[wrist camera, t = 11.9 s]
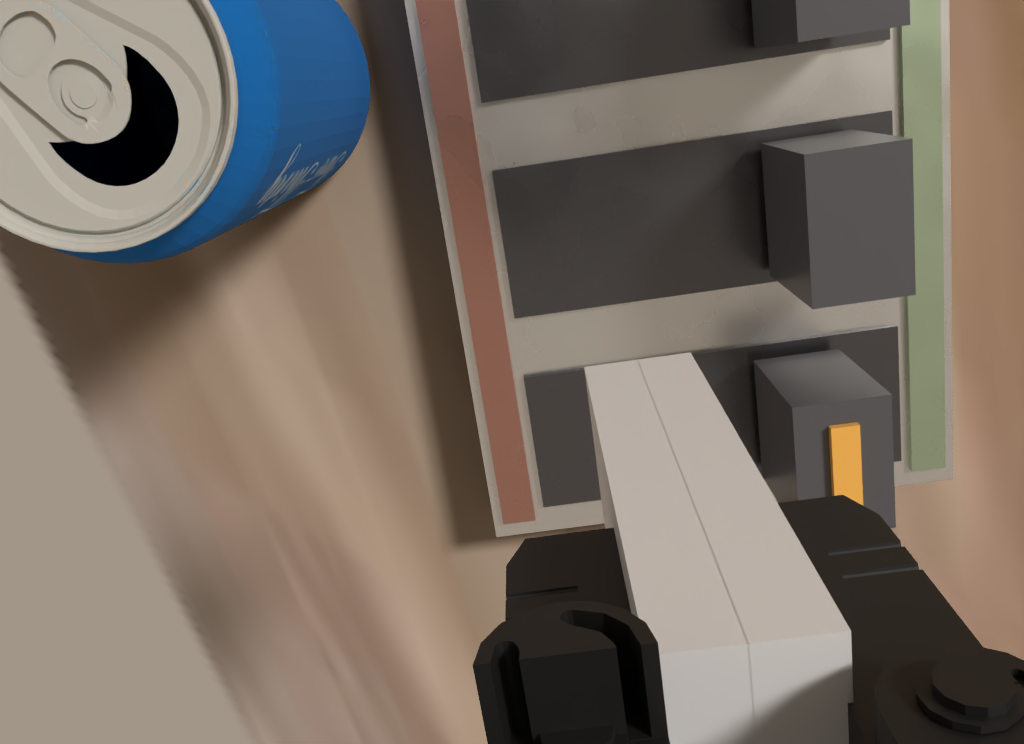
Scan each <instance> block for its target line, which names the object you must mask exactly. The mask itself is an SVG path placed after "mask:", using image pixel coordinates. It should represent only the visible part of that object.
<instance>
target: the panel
mask: <svg viewBox="0 0 1024 744" xmlns="http://www.w3.org/2000/svg"><path fill="white" fill-rule="evenodd" d="M404 1H405V7H406V13H407V19H408V25H409V31H410V36H411V42H412V48H413V54H414V60H415V66H416V71H417V77H418V83H419V89H420V95H421V101H422V106H423V112H424V118H425V124H426V130H427V136H428V141H429V147H430V153H431V159H432V165H433V170H434V176H435V182H436V188H437V194H438V200H439V205H440V211H441V217H442V223H443V229H444V235H445V240H446V246H447V252H448V258H449V264H450V270H451V275H452V281H453V287H454V293H455V299H456V305H457V310H458V316H459V322H460V328H461V334H462V339H463V345H464V351H465V357H466V363H467V369H468V374H469V380H470V386H471V392H472V398H473V404H474V409H475V415H476V421H477V427H478V433H479V439H480V444H481V450H482V456H483V462H484V468H485V473H486V479H487V485H488V491H489V497H490V503H491V508H492V514H493V520H494V526H495V532H496V537H502V536H510V535H518V534H525V533H533V532H541V531H549V530H557V529H564V528H572V527H580V526H588V525H596V524H603V523H604V517H603V509H602V502H601V494H600V486H599V478H598V471H597V463H596V455H595V447H594V440H593V432H592V424H591V416H590V409H589V401H588V393H587V385H586V378H585V370H584V367H587V366H595V365H602V364H609V363H616V362H624V361H631V360H638V359H645V358H653V357H660V356H667V355H674V354H682V353H689V352H691V354H692V356H693V357H694V359H695V361H696V363H697V364H698V366H699V368H700V370H701V371H702V373H703V375H704V377H705V378H706V380H707V382H708V383H709V385H710V387H711V389H712V390H713V392H714V394H715V396H716V397H717V399H718V401H719V403H720V404H721V406H722V408H723V409H724V411H725V413H726V415H727V416H728V418H729V420H730V422H731V423H732V425H733V427H734V429H735V430H736V432H737V434H738V436H739V437H740V439H741V441H742V442H743V444H744V446H745V448H746V449H747V451H748V453H749V455H750V456H751V458H752V460H753V462H754V463H755V465H756V467H757V468H758V470H759V472H760V474H761V475H762V466H761V452H760V439H759V426H758V412H757V399H756V386H755V372H754V360H761V359H769V358H776V357H783V356H790V355H798V354H805V353H812V352H820V351H827V350H834V349H839V350H840V351H842V352H843V353H844V354H845V355H846V356H847V357H849V358H850V359H851V360H852V361H853V362H854V363H856V364H857V365H858V366H859V367H860V368H861V369H863V370H864V371H865V372H866V373H867V374H869V375H870V376H871V377H872V378H873V379H874V380H876V381H877V382H878V383H879V384H880V385H881V386H883V387H884V388H885V389H886V390H887V391H888V392H890V393H891V394H892V419H893V453H894V486H899V485H907V484H915V483H923V482H931V481H938V480H946V479H953V395H952V278H951V161H950V44H949V0H910V25H906V26H900V27H893V28H887V29H881V30H874V31H868V32H861V33H855V34H849V35H842V36H836V37H830V38H823V39H817V40H810V41H804V42H798V43H790V44H783V45H776V46H769V47H762V48H754V33H753V18H752V4H751V0H404ZM852 129H853V130H860V131H866V132H873V133H880V134H886V135H893V136H900V137H906V138H913V183H914V232H915V281H916V295H911V296H904V297H897V298H890V299H883V300H876V301H868V302H861V303H854V304H847V305H840V306H833V307H826V308H818V309H812V308H810V307H809V306H808V305H807V304H805V303H804V302H803V301H801V300H800V299H799V298H798V297H796V296H795V295H794V294H793V293H791V292H790V291H789V290H788V289H786V288H785V287H784V286H783V285H781V284H780V283H779V282H778V281H776V280H775V279H774V278H773V277H771V276H770V269H769V255H768V240H767V225H766V210H765V196H764V181H763V166H762V151H761V143H765V142H772V141H779V140H785V139H792V138H799V137H805V136H812V135H818V134H825V133H832V132H838V131H845V130H852ZM762 477H763V476H762ZM763 479H764V478H763ZM764 481H765V479H764ZM765 482H766V481H765ZM766 484H767V483H766ZM767 486H768V484H767ZM768 488H769V486H768ZM769 489H770V488H769ZM770 491H771V489H770ZM771 493H772V491H771ZM772 495H773V496H774V494H773V493H772ZM774 498H775V496H774ZM775 500H776V501H777V499H776V498H775Z"/></svg>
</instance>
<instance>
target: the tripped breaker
mask: <svg viewBox="0 0 1024 744" xmlns="http://www.w3.org/2000/svg"><path fill="white" fill-rule="evenodd" d="M754 372H755V386H756V399H757V412H758V426H759V439H760V452H761V466H762V476H763V478H764V479H765V481H766V483H767V484H768V486H769V488H770V489H771V491H772V493H773V494H774V496H775V498H776V499H777V501H778V503H782V502H790V501H798V500H805V499H813V498H821V497H829V496H836V495H844V496H846V497H848V498H850V499H852V500H854V501H855V502H857V503H859V504H861V505H863V506H865V507H866V508H868V509H870V510H872V511H874V512H876V513H877V514H879V515H880V516H881V517H882V518H883V520H884V521H885V522H886V524H887V525H888V526H889V527H890V528H895V527H896V522H895V488H894V453H893V419H892V394H891V393H890V392H888V391H887V390H886V389H885V388H884V387H883V386H881V385H880V384H879V383H878V382H877V381H876V380H874V379H873V378H872V377H871V376H870V375H869V374H867V373H866V372H865V371H864V370H863V369H861V368H860V367H859V366H858V365H857V364H856V363H854V362H853V361H852V360H851V359H850V358H849V357H847V356H846V355H845V354H844V353H843V352H842V351H840V350H839V349H834V350H827V351H820V352H812V353H805V354H798V355H790V356H783V357H776V358H769V359H761V360H754Z"/></svg>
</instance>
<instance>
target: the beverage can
mask: <svg viewBox="0 0 1024 744" xmlns="http://www.w3.org/2000/svg"><path fill="white" fill-rule="evenodd" d="M369 100H370V78H369V70H368V64H367V60H366V56H365V52H364V49H363V46H362V44H361V41H360V39H359V36H358V34H357V32H356V30H355V28H354V26H353V24H352V23H351V21H350V19H349V18H348V16H347V15H346V13H345V12H344V11H343V9H342V8H341V6H340V5H339V4H338V3H337V2H336V1H335V0H0V226H1V227H2V228H4V229H6V230H7V231H9V232H11V233H13V234H15V235H17V236H20V237H22V238H24V239H27V240H29V241H31V242H34V243H38V244H41V245H44V246H48V247H50V248H52V249H55V250H57V251H59V252H62V253H66V254H69V255H72V256H76V257H79V258H83V259H89V260H95V261H101V262H111V263H137V262H148V261H154V260H158V259H163V258H167V257H171V256H174V255H177V254H179V253H182V252H185V251H187V250H190V249H192V248H194V247H196V246H198V245H200V244H202V243H204V242H206V241H208V240H210V239H212V238H214V237H216V236H218V235H220V234H222V233H224V232H226V231H228V230H230V229H233V228H235V227H237V226H239V225H241V224H243V223H245V222H247V221H249V220H251V219H253V218H255V217H257V216H259V215H261V214H263V213H265V212H267V211H269V210H271V209H273V208H275V207H277V206H279V205H281V204H283V203H285V202H287V201H289V200H291V199H293V198H295V197H297V196H299V195H301V194H303V193H305V192H307V191H309V190H311V189H313V188H314V187H316V186H318V185H320V184H322V183H323V182H324V181H325V180H327V179H328V178H329V177H331V176H332V175H333V174H334V173H335V172H336V171H337V170H338V169H339V168H340V167H341V166H342V165H343V164H344V163H345V161H346V160H347V159H348V157H349V156H350V155H351V154H352V152H353V150H354V148H355V147H356V145H357V143H358V141H359V139H360V136H361V134H362V131H363V129H364V126H365V122H366V118H367V114H368V109H369Z"/></svg>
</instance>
